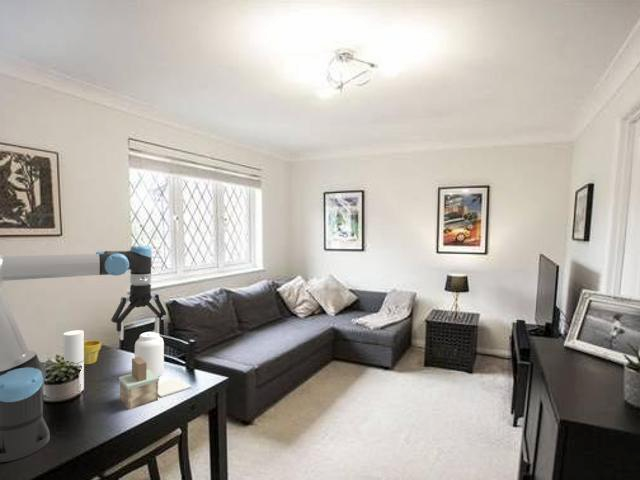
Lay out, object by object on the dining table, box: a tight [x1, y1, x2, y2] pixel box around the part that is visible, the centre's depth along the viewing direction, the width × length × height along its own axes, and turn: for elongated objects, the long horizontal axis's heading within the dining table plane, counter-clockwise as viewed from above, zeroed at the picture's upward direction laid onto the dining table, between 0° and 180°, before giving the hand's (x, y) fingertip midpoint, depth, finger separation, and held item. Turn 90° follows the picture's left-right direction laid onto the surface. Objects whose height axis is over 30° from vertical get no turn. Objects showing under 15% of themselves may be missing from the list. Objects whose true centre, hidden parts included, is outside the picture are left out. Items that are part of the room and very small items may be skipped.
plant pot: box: [84, 339, 102, 365], centre depth 179 cm, size 10×10×10 cm
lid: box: [118, 357, 160, 390], centre depth 141 cm, size 12×12×10 cm
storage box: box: [119, 381, 159, 410], centre depth 142 cm, size 11×11×8 cm
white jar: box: [134, 331, 165, 378], centre depth 165 cm, size 12×12×20 cm
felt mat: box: [158, 376, 192, 399], centre depth 153 cm, size 13×13×1 cm
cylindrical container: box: [62, 329, 85, 393], centre depth 148 cm, size 7×7×25 cm
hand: (139, 335), depth 141 cm, fingers open, 13 cm apart
